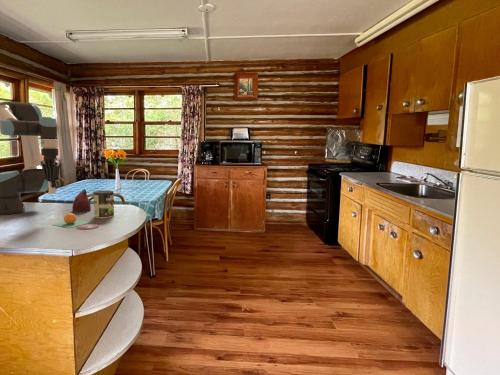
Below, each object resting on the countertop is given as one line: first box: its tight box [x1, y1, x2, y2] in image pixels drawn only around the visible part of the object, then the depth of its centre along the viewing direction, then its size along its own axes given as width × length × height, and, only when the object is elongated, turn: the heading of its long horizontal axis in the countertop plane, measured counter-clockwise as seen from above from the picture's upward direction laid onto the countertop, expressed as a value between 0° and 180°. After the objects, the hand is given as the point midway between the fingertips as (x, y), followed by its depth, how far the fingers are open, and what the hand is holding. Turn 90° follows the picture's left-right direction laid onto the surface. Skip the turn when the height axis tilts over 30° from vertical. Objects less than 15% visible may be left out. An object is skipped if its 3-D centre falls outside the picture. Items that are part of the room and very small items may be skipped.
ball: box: [63, 212, 77, 224], centre depth 169 cm, size 6×6×6 cm
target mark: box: [52, 219, 90, 229], centre depth 169 cm, size 12×12×1 cm
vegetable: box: [71, 188, 92, 213], centre depth 200 cm, size 10×10×15 cm
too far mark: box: [76, 223, 100, 231], centre depth 164 cm, size 10×10×1 cm
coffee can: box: [92, 190, 115, 220], centre depth 186 cm, size 10×10×14 cm
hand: (52, 193), depth 173 cm, fingers closed
